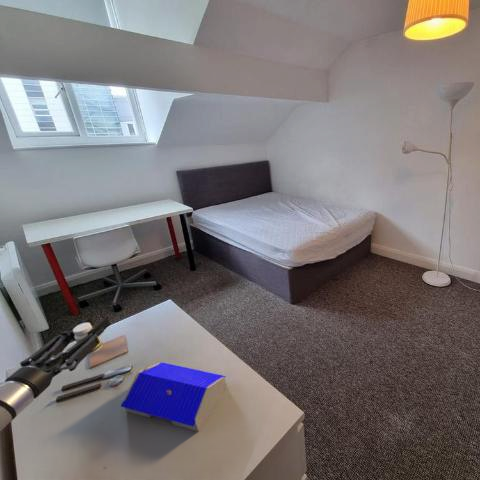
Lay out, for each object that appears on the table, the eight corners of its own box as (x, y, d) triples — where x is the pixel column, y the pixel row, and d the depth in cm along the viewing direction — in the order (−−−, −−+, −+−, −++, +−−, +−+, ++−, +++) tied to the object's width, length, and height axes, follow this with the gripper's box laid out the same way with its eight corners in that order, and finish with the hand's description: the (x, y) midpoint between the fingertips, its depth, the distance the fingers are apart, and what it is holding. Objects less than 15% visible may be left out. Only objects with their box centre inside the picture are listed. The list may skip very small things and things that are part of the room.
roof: (124, 414, 70) (114, 395, 67) (164, 369, 82) (157, 351, 79) (196, 434, 64) (189, 415, 61) (228, 383, 77) (223, 365, 74)
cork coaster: (89, 349, 90) (89, 348, 90) (124, 335, 96) (124, 334, 96) (89, 368, 83) (89, 367, 83) (127, 352, 89) (127, 351, 89)
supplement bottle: (106, 343, 82) (96, 321, 79) (93, 355, 78) (81, 333, 74) (92, 342, 83) (81, 321, 79) (78, 354, 78) (66, 332, 75)
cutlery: (54, 405, 73) (53, 403, 72) (64, 386, 78) (63, 384, 78) (128, 382, 78) (127, 380, 78) (132, 365, 84) (131, 363, 83)
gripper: (-9, 400, 63) (76, 330, 85) (63, 402, 63) (131, 330, 84) (-27, 378, 60) (66, 311, 82) (48, 379, 59) (122, 311, 81)
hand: (99, 321), depth 83 cm, fingers closed on supplement bottle, 5 cm apart
